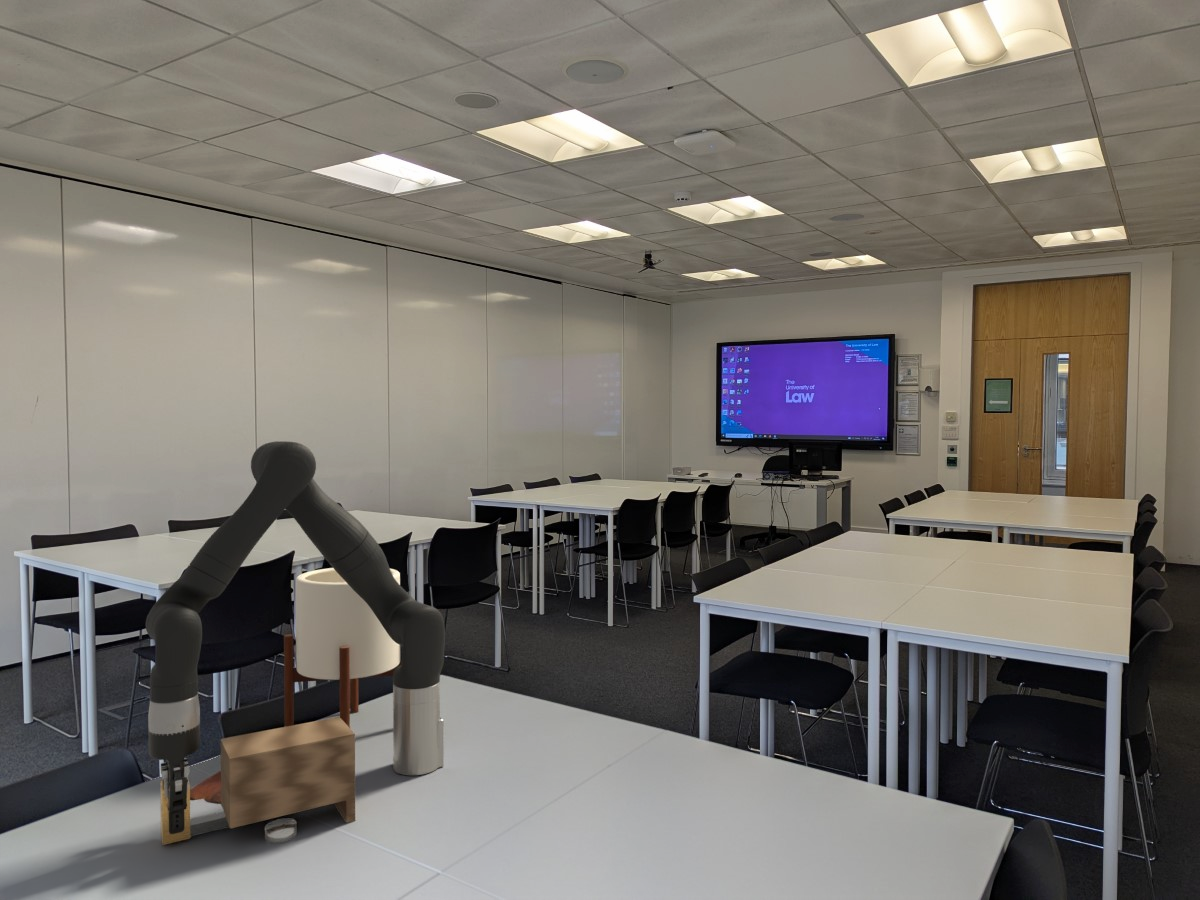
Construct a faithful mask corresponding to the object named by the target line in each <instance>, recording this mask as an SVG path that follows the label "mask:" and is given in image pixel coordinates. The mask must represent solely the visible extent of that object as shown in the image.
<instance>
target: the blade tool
mask: <svg viewBox="0 0 1200 900" xmlns="http://www.w3.org/2000/svg"><path fill="white" fill-rule="evenodd" d="M159 782H160V786H159V787H160V788H159V789H160V837H161V843H162V846H165V845H169V844H172V843H176V842H180V841H185V840H189V839H191V837H192V836H196V835H200V834H205V833H210V832H214V831H218V830H222V829H226V828H230V827H229V824H228V821H227V819H226V816H225V813H224V811H223V810H222V811H219V812H214V813H211V814H206V815H201V816H197V817H193V818H191V800H190V789H191V784H190V781H189V779H188V792H187V807H186V809H185V810H184V831H183V832H180V833H175V834H170V833H169V812H168V810H167V807H168V798H166V797H165V795H164V782H163V781H162V780H160V781H159ZM168 791H169V786H168ZM178 802H181V799H180V800H176V801H174V802H173V803H178Z"/></svg>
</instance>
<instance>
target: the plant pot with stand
mask: <svg viewBox="0 0 1200 900" xmlns="http://www.w3.org/2000/svg"><path fill="white" fill-rule="evenodd" d="M390 571H391V573H392V575H393V577H394V578H395V580H396V581H397V582H398V584H399V585H400V586H401V572H399V571H398V570H397V569H394V568H390ZM295 609H296V610H295V613H296V614H295V617H296V618H295V619H296V620H295V621H296V623H295V625H296V626H295V629H296V630H295V632H296V634H295V635H296V636H295V638H296V641H295V644H296V645H295V648H296V649H295V650H296V655H295V656H296V662H295V663H296V667H294V634H292V633H288V634H284V635H283V662H284V663H283V674H284V675H283V676H284V677H283V679H284V680H283V685H284V686H283V688H284V689H283V691H284V694H283V695H284V696H283V697H284V699H283V702H284V704H283V705H284V706H283V707H284V727H287V726H292V725H295V723H294V722H295V720H294V719H295V717H294V713H295V711H294V710H295V709H294V708H295V707H294V706H295V704H294V703H295V702H294V698H295V697H294V690H295V689H294V683H302V682H304V683H305V682H319V681H320V682H321V681H335V680H336V681H337V680H339V717H340V718H341V719H342V720H343V721H344V722H345V723H346V724H347V726H348V727H349V728H350V729H351V726H350V724H351V723H350V722H351V720H350V719H351V718H350V717H351V716H350V714H355V713H359V679H364V678H365V679H366V678H367V679H368V678H377V677H378V678H380V677H382V678H383V677H393V673H394V670H395V669H396V668H397V667H398V666H400V665H402V660H401V645H399V644H397V643H396V642H394V641H393V640H392V639H391V638H390V636H389V635H388V633H387V632H386V630H385V629H384V627H383V626H382V624H381V623H380V621H379V620H378V618H377V617H376V615H375V614H374V612H373V611H372V609H371V608H370V607H369V605H368V604H367V603H366V602H365V601H364V600H363V599H362V598H361V597H360V596H359V595H358V594H357V593H356V592H355V591H354V590H353V589H352V588H351V587H350V586H349V585H348V584H347V583H346V582H345V580H344V579H343V578H342V577H341V576H340V575H339V574H338V573H337V572H336V571H335V570H334V568H333V567H329V568H321V569H316V570H310V571H307V572H306V571H305V572H304V573H301V574H299V575H298V576H297V577H296V578H295Z"/></svg>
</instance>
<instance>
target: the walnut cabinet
mask: <svg viewBox="0 0 1200 900" xmlns="http://www.w3.org/2000/svg"><path fill="white" fill-rule="evenodd" d="M220 771H221V804H220V805H221V808H222V812H223V811H224V813H225V816H226V819H227V821H228V824H229V827H228V828H229V829H230V830H231V829H234V828H238V827H243V826H246V825H250V824H255V823H258V822H263V821H267V820H270V819H271V820H272V819H275V818H279V817H282V816H287V815H292V814H296V813H299V812H305V811H308V810H311V809H317V808H319V807H320V808H321V807H324V806H328V805H332V804H333V805H334V807H335V808H336V809H337V811H338V813H339V814H340V815H341V817H342V819H343V820H344V822H345V823H346V824H348V823H351V822H352V823H353V822H355V821H356V733H355V731H353V730H352V729H351V727H350V728H349V727H348V726H347V724H346V723H345V722H344V721H343V720H342V719H341V718H340V716H336V717H335V716H334V717H330V718H325V719H319V720H315V721H309V722H304V723H299V724H294V725H292V726H287V727H285V726H283V727H277V728H272V729H267V730H261V731H256V732H250V733H245V734H239V735H235V736H228V737H223V738H220Z"/></svg>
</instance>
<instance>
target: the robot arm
mask: <svg viewBox="0 0 1200 900" xmlns="http://www.w3.org/2000/svg"><path fill="white" fill-rule="evenodd" d="M316 462H317V461H316V457H315V455H314V452H312V451H311V449H310V448H309V447H307V446H305V445H304V444H302V443H299V442H295V441H287V440H286V441H278V440H277V441H271V442H267V443H264V444H262V445H260V446H259V447H257V449H255V451H254V452H253V454H252V456H251V461H250V469H251V470H250V471H251V474H252V477H253V478H254V480H255V481H256V483H255V485H254V487H253V489H252V491H251V492H250V493H249V495H248V496H247V497H246V499H245V500H244V501H243V503H242V504H241V505H240V506H239V507H238V509H236V510H235V511H234V512H233V514H231V515H230V516H229V517H228V518H227V520H225V521H224V522H223V523H222V524H221V525H220V526H219V527H218V528H216V530H215V531H213V533H212V534H211V536H209V538H208V539H207V540H206V541H205V542H204V544H203V545H202V546H201V548H200V549H199V550H198V552H197V553H196V555H195V556H194V557H193V559H191V561H190V563H189V565H187V567H186V569H185V570H184V572H183V574H182V575H181V576H180V577H179V578H178V579H176V581H175V582H174V583H172V585H171V586H170V587H168V589H166V591H165V592H164V593H163V594H162V595H161V596H160V597H159V598H158V600H157V601H156V602H155V603H154V604H153V606H152V607H151V609H150V611H149V612H148V614H147V615H146V619H145V630H146V633H147V635H148V636H149V638H151V639H152V640H153V641H154V643H155V655H154V657H155V658H154V660H155V661H154V663H155V664H154V665H153V666H152V668H151V670H150V674H149V706H148V718H147V719H148V720H147V721H148V722H147V723H148V725H147V726H148V731H147V733H148V755H149V757H150V758H151V759H154V760H160V761H163V762H161V763H160V774H161V781H163V782H164V795H165V797H166V798H168V807H167V810H168V812H169V833H170V834H175V833H180V832H183V831H184V810H185V809H186V807H187V792H188V780H189V774H190V764H189V763H190V762H189V760H188V758H186V757H187V756H189V755H193V754H195V753H196V752H197V751H198V750H199V748H200V747H201V716H200V715H201V711H200V710H201V709H200V707H201V706H200V701H199V678H198V677H199V675H198V666H199V665H198V663H199V660H200V655H201V649H202V648H201V647H202V641H203V625H202V620H201V617H200V615H199V613H200V612H201V611H202V609H203V608H204V607H205V606H206V604H208V603H209V602H210V601H211V600H214V599H216V598H217V599H218V597H219V596H221V595H222V593H223V592H224V591H225V590H226V588H227V587H228V586H229V584H230V582H231V581H232V579H233V578H234V576H235V575H236V573H237V572H238V571H239V570H240V567H241V566H242V565H243V563H244V562H245V560H246V559H247V558H248V556H249V555H250V554H251V552H252V551H253V549H254V547H255V546H256V545H257V544H258V543H259V541H260V540H261V539H262V537H263V536H264V535H265V533H266V532H267V530H268V529H270V528H271V526H272V525H273V524H274V522H276V520H277V519H278V518H279V517H280V515H281V514H282V513H283V512H284V511H285V510H286V512H287V513H288V514H289V515H290V516H292V518H293V520H295V521H296V523H297V524H298V525H299V526H300V528H301V530H302V531H303V532H304V534H305V535H306V536H307V537H308V540H310V541H311V542H312V544H313V546H315V548H316V549H317V550H318V551H319V553H320V554H321V556H323V558H324V559H325V561H327V562H328V564H329V565H330V566H331V568H334V570H335V571H336V572H337V573H338V574H339V575H340V576H341V577H342V578H343V579H344V580H345V582H346V583H347V584H348V585H349V586H350V587H351V588H352V589H353V590H354V591H355V592H356V593H357V594H358V595H359V596H360V597H361V598H362V599H363V600H364V601H365V602H366V603H367V604H368V605H369V607H370V608H371V609H372V611H373V612H374V614H375V615H376V617H377V618H378V620H379V621H380V623H381V624H382V626H383V627H384V629H385V630H386V632H387V633H388V635H389V636H390V638H391V639H392V640H393V641H394V642H396V643H397V644H399V645H400V647H402V652H401V653H402V657H401V658H402V659H401V661H402V665H400V666H398V667H397V668H396V669H395V670H394V673H393V676H392V681H393V682H392V694H393V695H392V704H393V705H392V707H393V708H392V711H393V712H392V715H393V716H392V719H393V721H392V722H393V723H392V724H393V725H392V727H393V728H392V729H393V730H392V731H393V732H392V733H393V734H392V735H393V736H392V737H393V738H392V740H393V744H392V745H393V749H392V750H393V753H392V754H393V756H392V761H393V771H394V772H396V773H397V774H399V775H404V776H419V775H421V776H422V775H425V774H429V773H432V772H434V771H436V770H437V769H439V768H442V767H444V765H445V764H444V763H445V762H444V757H445V756H444V755H445V752H444V748H445V747H444V742H445V741H444V739H445V738H444V735H445V733H444V726H445V725H444V719H443V718H442V717H441V711H440V710H441V703H440V702H441V701H440V700H441V697H440V696H441V695H440V694H441V693H440V691H441V687H440V686H441V681H440V680H441V672H442V670H443V667H444V663H445V662H444V661H445V644H446V627H445V620H444V617H443V615H442V612H440V610H438V609H437V608H436V607H435V606H431V605H428V604H425V603H422V602H419V601H418V600H416V599H415V598H413V597H412V596H411V595H410V594H409V593H408V592H407V591H406V589H404V588H403V586H401V584H400V585H399V584H398V582H397V581H396V580H395V578H394V577H393V575H392V573H391V571H390V569H391V568H390V566H389V563H388V561H387V560H388V559H387V556H386V555H385V553H384V551H383V549H382V548H381V546H380V545H379V543H378V542H377V540H375V538H374V537H373V535H372V534H371V533H370V532H369V531H368V529H367V528H366V527H365V526H364V524H362V523H361V522H360V521H359V520H358V519H357V518H356V517H355V516H354V515H353V514H351V513H350V512H349V511H348V510H346V509H345V508H344V507H342V506H341V505H340V504H339V503H337V502H336V501H335V500H333V499H332V498H331V497H330V496H328V495H327V494H326V492H325V491H323V489H322V488H321V487H320V486H319V485H318V484H317V482H316V481H315V479H314V477H315V474H316V470H317V463H316ZM168 786H169V791H168ZM180 799H181V802H178V803H173V802H174V801H176V800H180Z"/></svg>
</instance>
